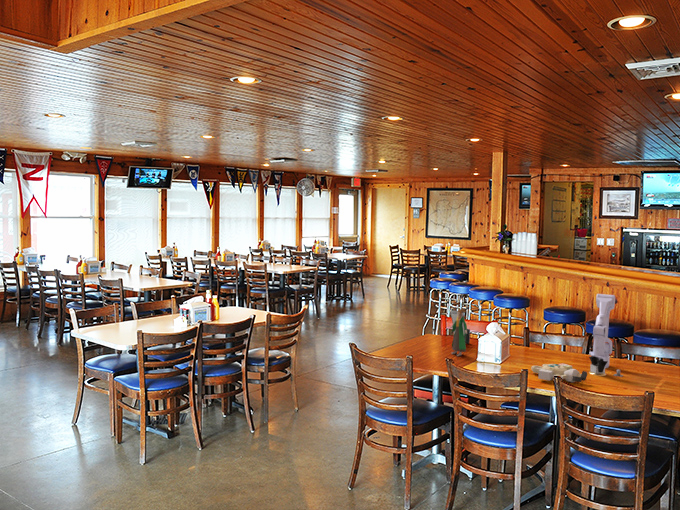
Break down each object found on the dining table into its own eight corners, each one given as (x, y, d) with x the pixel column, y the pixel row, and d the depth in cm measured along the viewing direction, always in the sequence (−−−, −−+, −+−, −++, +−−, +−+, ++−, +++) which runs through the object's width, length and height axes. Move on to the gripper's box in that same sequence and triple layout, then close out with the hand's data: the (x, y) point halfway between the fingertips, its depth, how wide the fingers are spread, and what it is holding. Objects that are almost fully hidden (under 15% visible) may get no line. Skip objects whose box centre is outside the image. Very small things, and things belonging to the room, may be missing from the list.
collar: (599, 370, 331) (599, 363, 331) (604, 373, 326) (605, 366, 326) (590, 371, 331) (590, 364, 330) (595, 373, 325) (596, 366, 325)
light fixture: (446, 345, 395) (448, 310, 393) (454, 341, 410) (455, 307, 409) (462, 348, 390) (463, 312, 388) (469, 343, 405) (471, 308, 404)
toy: (578, 374, 301) (522, 363, 320) (577, 389, 302) (521, 378, 321) (593, 365, 321) (539, 355, 340) (592, 379, 321) (538, 369, 340)
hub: (590, 372, 335) (591, 365, 334) (607, 375, 329) (608, 368, 329) (586, 375, 328) (587, 368, 327) (604, 378, 322) (604, 371, 322)
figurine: (446, 352, 376) (448, 306, 374) (455, 351, 380) (457, 305, 378) (462, 358, 362) (464, 310, 360) (471, 357, 365) (473, 309, 363)
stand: (614, 375, 329) (615, 368, 329) (623, 376, 326) (623, 369, 326) (613, 377, 325) (613, 370, 325) (621, 378, 323) (622, 371, 322)
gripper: (585, 344, 334) (583, 367, 335) (600, 349, 320) (598, 374, 321) (596, 343, 335) (595, 367, 336) (611, 349, 321) (610, 374, 322)
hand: (597, 370), depth 328 cm, fingers closed on collar, 5 cm apart
